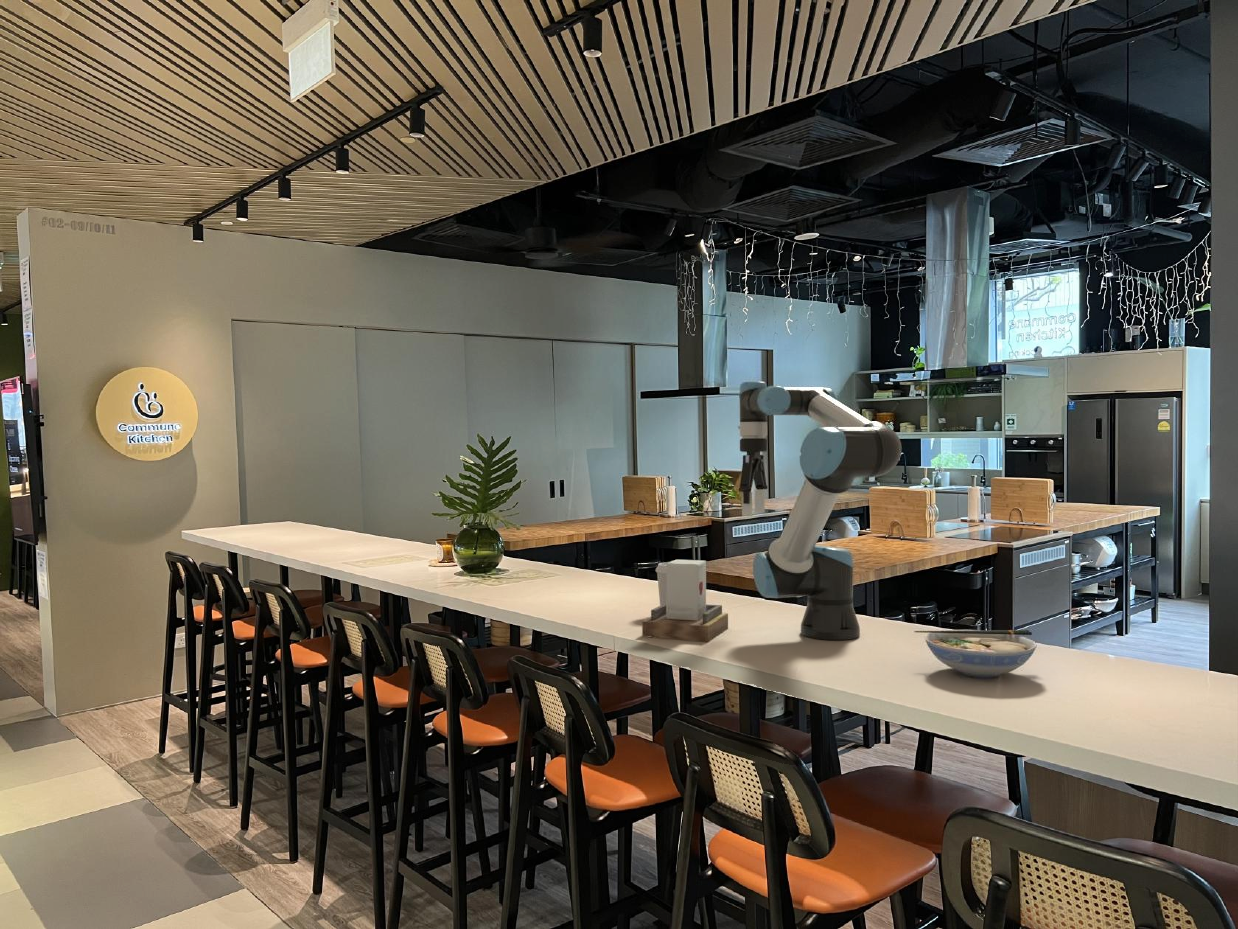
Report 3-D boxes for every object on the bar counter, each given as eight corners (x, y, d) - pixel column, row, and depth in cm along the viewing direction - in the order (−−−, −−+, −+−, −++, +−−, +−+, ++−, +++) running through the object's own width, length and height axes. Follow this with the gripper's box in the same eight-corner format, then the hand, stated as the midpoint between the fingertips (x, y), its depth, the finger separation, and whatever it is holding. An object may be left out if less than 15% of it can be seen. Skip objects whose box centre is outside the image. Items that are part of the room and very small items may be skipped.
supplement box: (698, 621, 234) (698, 564, 234) (665, 619, 237) (665, 562, 237) (707, 615, 243) (706, 560, 242) (675, 613, 246) (675, 558, 246)
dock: (728, 628, 245) (728, 604, 245) (708, 642, 228) (708, 616, 228) (665, 623, 252) (665, 600, 252) (642, 636, 235) (642, 611, 235)
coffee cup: (688, 612, 270) (688, 562, 269) (687, 618, 260) (687, 566, 260) (656, 611, 270) (656, 561, 270) (654, 617, 261) (654, 566, 261)
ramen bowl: (930, 686, 186) (930, 646, 186) (910, 659, 208) (910, 624, 208) (1058, 689, 182) (1058, 649, 182) (1023, 662, 205) (1023, 627, 205)
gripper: (751, 438, 262) (751, 510, 263) (727, 437, 239) (728, 517, 240) (776, 437, 259) (777, 511, 260) (755, 437, 236) (755, 517, 237)
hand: (753, 514), depth 250 cm, fingers open, 13 cm apart
